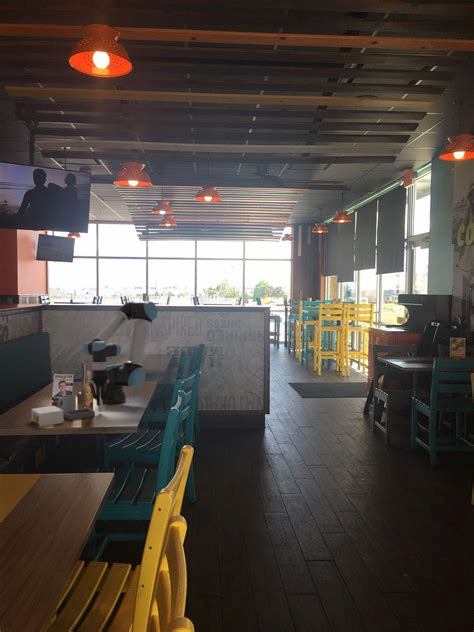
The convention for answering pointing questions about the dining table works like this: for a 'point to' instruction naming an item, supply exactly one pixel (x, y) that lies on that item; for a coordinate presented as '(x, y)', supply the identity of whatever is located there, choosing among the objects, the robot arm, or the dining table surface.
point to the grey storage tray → (78, 414)
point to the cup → (67, 403)
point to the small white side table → (47, 415)
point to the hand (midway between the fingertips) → (100, 411)
